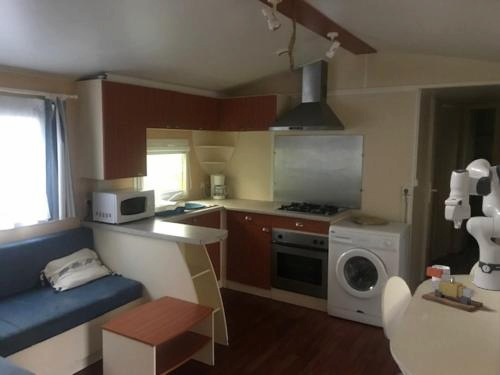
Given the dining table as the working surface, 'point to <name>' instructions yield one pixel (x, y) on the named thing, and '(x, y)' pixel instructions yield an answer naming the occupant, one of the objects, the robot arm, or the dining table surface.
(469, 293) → the valve
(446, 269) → the cup
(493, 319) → the dining table surface
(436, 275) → the lever
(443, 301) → the board
